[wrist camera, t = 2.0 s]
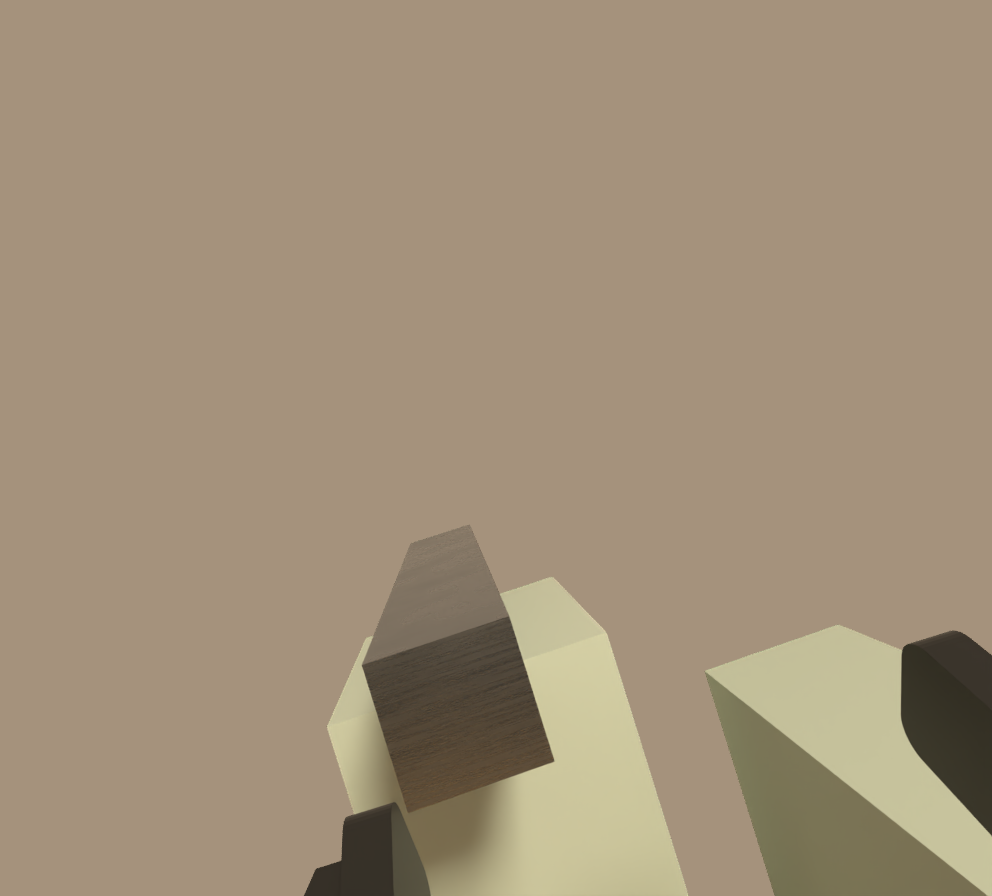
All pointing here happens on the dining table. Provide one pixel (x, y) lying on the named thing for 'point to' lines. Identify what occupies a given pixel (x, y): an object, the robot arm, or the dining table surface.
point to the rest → (842, 775)
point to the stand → (534, 777)
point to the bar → (451, 676)
